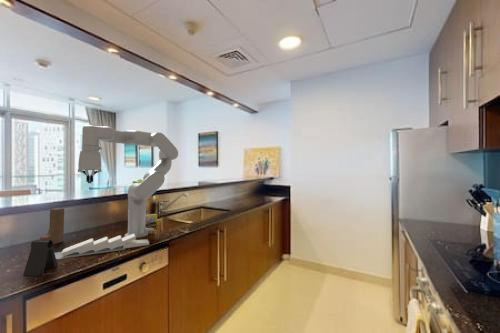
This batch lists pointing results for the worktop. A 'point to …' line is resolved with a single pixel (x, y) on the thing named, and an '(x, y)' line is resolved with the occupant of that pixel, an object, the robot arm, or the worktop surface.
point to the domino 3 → (110, 243)
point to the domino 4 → (124, 241)
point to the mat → (60, 256)
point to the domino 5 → (136, 243)
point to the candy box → (151, 220)
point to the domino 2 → (95, 245)
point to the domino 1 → (77, 247)
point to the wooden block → (55, 226)
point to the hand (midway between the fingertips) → (89, 183)
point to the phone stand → (40, 258)
